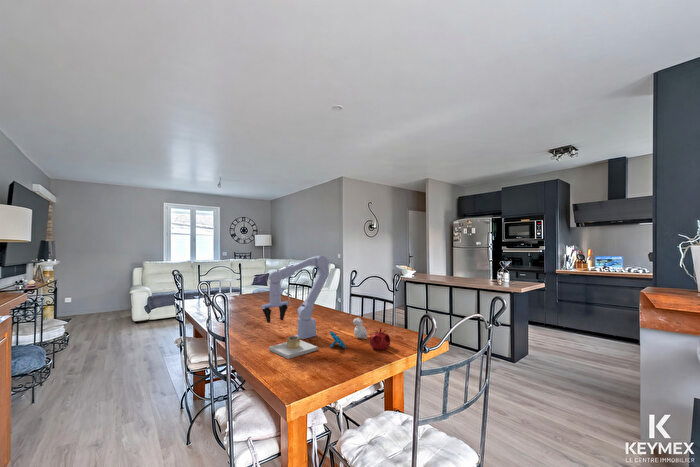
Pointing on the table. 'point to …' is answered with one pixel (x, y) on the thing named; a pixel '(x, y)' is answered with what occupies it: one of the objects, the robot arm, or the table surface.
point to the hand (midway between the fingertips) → (275, 321)
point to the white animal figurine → (359, 329)
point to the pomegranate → (379, 340)
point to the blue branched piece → (336, 340)
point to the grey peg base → (291, 353)
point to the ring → (293, 342)
